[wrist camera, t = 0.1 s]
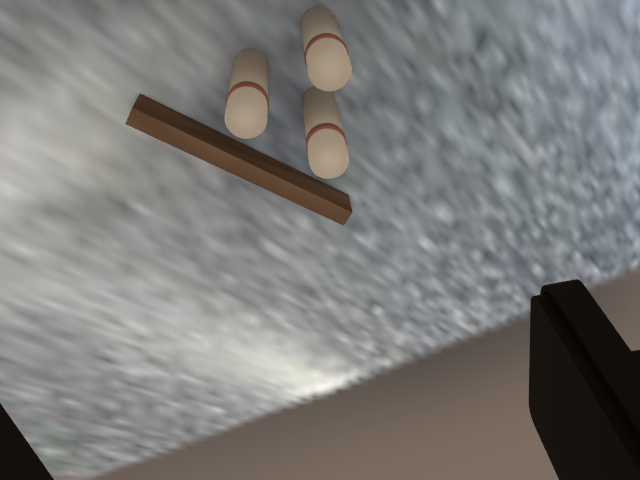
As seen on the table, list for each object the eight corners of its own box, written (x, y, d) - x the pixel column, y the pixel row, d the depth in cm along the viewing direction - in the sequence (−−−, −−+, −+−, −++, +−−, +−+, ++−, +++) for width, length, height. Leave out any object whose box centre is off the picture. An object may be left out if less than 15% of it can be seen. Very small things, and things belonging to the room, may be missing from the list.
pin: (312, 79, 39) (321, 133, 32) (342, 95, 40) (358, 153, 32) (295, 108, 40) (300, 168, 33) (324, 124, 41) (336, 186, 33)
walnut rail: (139, 93, 39) (132, 107, 37) (348, 195, 44) (352, 212, 42) (133, 109, 39) (125, 124, 37) (340, 207, 45) (343, 225, 43)
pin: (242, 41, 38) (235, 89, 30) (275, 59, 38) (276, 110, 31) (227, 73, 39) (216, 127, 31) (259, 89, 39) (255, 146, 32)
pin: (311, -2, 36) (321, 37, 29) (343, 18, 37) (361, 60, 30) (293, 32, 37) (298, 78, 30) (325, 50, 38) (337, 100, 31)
